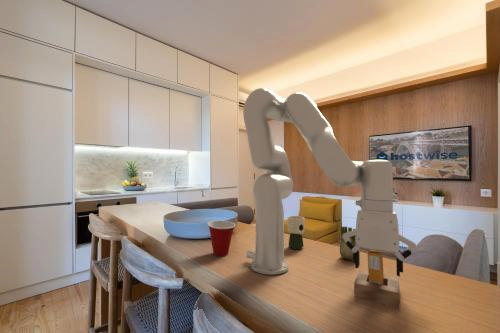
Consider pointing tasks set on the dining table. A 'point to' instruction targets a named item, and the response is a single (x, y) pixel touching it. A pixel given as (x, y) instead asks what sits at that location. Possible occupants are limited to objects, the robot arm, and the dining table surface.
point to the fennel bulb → (344, 249)
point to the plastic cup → (221, 236)
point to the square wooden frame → (378, 289)
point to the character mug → (296, 231)
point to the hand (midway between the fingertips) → (377, 270)
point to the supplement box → (375, 267)
